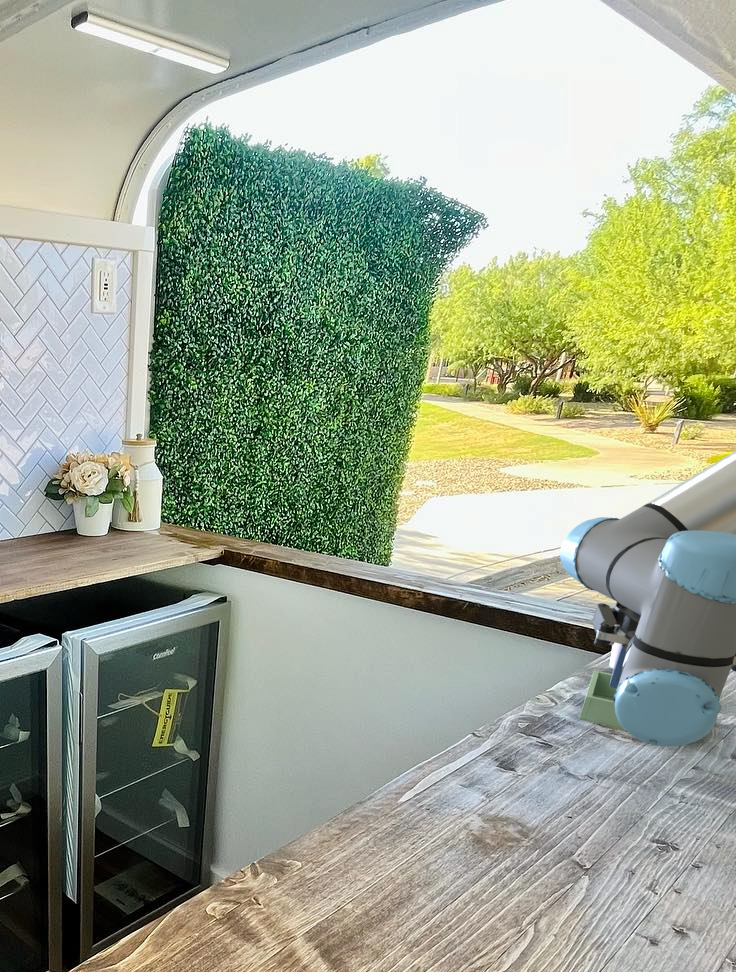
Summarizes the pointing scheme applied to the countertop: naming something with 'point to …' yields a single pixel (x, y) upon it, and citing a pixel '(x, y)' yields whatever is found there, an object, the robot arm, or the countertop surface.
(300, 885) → the countertop surface
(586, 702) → the lower bin
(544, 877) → the countertop surface
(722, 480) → the robot arm
